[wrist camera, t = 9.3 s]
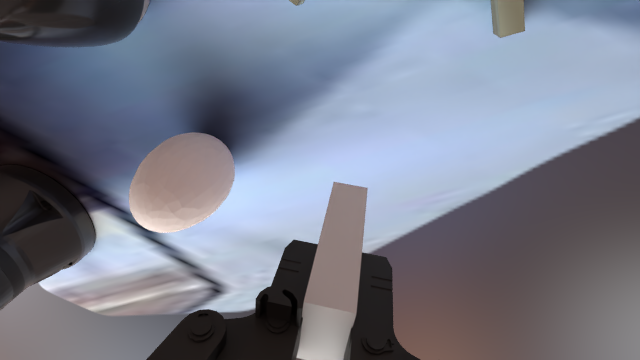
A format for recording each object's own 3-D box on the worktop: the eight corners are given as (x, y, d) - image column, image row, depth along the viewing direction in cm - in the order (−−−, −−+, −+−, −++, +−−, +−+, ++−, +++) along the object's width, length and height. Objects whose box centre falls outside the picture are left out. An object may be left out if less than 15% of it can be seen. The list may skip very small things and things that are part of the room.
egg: (258, 180, 36) (205, 259, 26) (196, 183, 38) (125, 258, 28) (238, 112, 32) (168, 174, 23) (170, 120, 34) (79, 180, 24)
